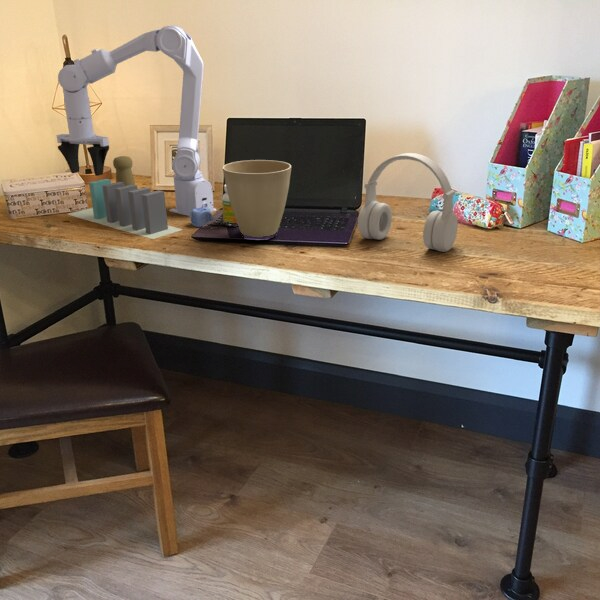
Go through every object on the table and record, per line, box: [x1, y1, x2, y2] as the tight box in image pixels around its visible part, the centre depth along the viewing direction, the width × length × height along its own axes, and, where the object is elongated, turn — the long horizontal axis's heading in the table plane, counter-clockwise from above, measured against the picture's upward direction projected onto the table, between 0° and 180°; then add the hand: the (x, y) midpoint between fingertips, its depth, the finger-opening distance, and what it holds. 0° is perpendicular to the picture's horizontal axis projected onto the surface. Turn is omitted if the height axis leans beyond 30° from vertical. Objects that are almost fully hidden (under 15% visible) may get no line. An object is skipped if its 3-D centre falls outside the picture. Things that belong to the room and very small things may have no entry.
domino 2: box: [103, 181, 125, 223], centre depth 161 cm, size 2×5×9 cm, turn 140°
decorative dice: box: [189, 208, 214, 228], centre depth 157 cm, size 4×4×4 cm
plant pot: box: [222, 159, 292, 237], centre depth 146 cm, size 15×15×16 cm
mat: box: [66, 207, 184, 240], centre depth 161 cm, size 34×9×1 cm, turn 50°
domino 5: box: [142, 189, 169, 234], centre depth 152 cm, size 2×5×9 cm, turn 140°
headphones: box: [357, 152, 459, 253], centre depth 139 cm, size 20×8×19 cm, turn 56°
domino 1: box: [88, 178, 112, 219], centre depth 164 cm, size 2×5×9 cm, turn 140°
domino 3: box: [115, 184, 138, 227], centre depth 158 cm, size 2×5×9 cm, turn 140°
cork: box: [112, 155, 136, 186], centre depth 184 cm, size 6×6×11 cm
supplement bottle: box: [221, 183, 237, 223], centre depth 156 cm, size 5×5×10 cm
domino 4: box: [128, 186, 152, 231], centre depth 155 cm, size 2×5×9 cm, turn 140°
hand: (87, 173), depth 165 cm, fingers open, 7 cm apart
